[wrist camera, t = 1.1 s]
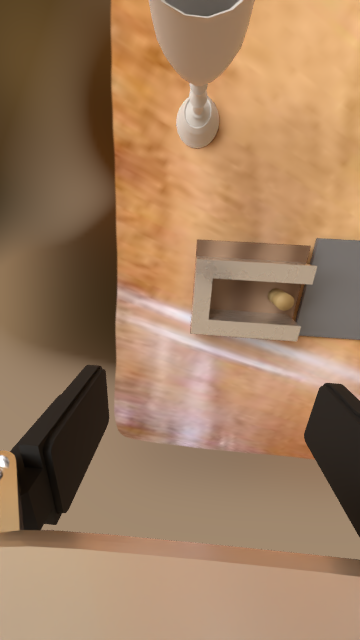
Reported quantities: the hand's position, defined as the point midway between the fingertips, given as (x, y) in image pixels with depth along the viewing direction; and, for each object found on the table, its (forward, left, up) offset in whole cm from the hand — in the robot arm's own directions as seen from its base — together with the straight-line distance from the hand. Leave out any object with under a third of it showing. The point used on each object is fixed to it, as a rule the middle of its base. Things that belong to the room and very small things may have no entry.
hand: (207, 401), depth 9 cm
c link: (-5, 0, -21) cm, 22 cm away
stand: (-6, 0, -24) cm, 25 cm away
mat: (-21, -1, -24) cm, 32 cm away
